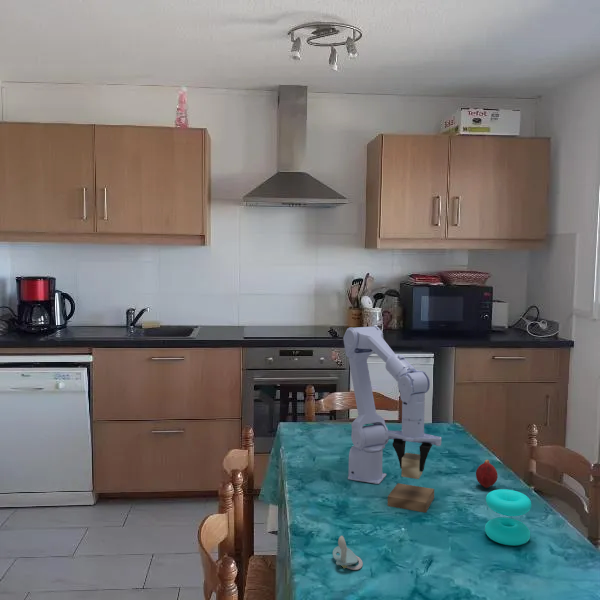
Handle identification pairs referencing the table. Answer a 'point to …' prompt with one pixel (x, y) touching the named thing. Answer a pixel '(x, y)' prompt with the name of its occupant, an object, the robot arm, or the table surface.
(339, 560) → the pacifier
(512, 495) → the donuts
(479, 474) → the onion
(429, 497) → the walnut block
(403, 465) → the maple block
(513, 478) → the table surface
